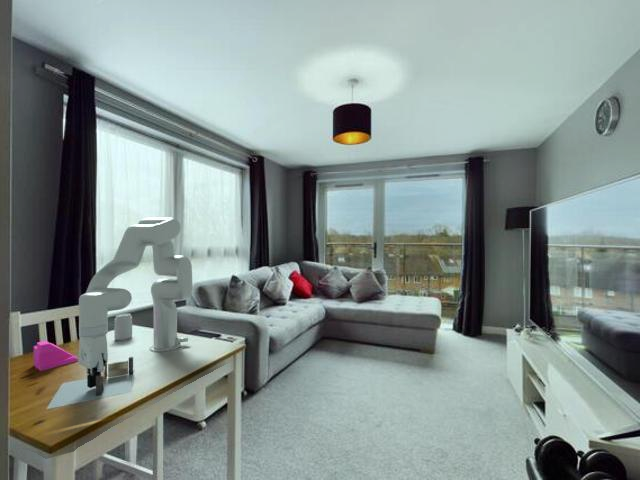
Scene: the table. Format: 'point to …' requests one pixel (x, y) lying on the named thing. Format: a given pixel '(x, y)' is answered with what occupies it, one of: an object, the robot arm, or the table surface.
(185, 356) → the table surface
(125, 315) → the can
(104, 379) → the gate
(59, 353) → the magenta wedge-shaped piece
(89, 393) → the card
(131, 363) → the fence fixed
